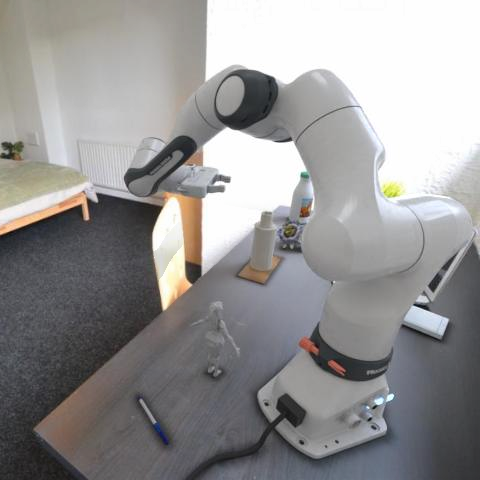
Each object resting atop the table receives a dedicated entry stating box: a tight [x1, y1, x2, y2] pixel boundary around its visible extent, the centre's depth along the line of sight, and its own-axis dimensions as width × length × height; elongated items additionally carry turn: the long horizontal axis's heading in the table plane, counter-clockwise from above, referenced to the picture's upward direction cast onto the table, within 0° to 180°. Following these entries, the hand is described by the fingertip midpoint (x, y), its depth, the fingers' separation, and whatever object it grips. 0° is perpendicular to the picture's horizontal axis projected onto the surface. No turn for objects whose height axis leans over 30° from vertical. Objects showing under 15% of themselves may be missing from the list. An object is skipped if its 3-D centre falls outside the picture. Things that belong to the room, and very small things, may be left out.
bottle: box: [249, 210, 278, 271], centre depth 101 cm, size 6×6×18 cm
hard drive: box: [402, 304, 450, 340], centre depth 82 cm, size 2×8×12 cm
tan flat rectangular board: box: [237, 254, 283, 285], centre depth 105 cm, size 18×8×1 cm, turn 146°
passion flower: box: [276, 219, 305, 250], centre depth 116 cm, size 11×11×12 cm
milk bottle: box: [288, 171, 314, 225], centre depth 133 cm, size 8×8×20 cm
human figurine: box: [189, 300, 243, 378], centre depth 64 cm, size 12×4×18 cm, turn 45°
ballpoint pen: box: [137, 396, 169, 445], centre depth 60 cm, size 10×1×1 cm, turn 32°
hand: (228, 184), depth 98 cm, fingers open, 8 cm apart
